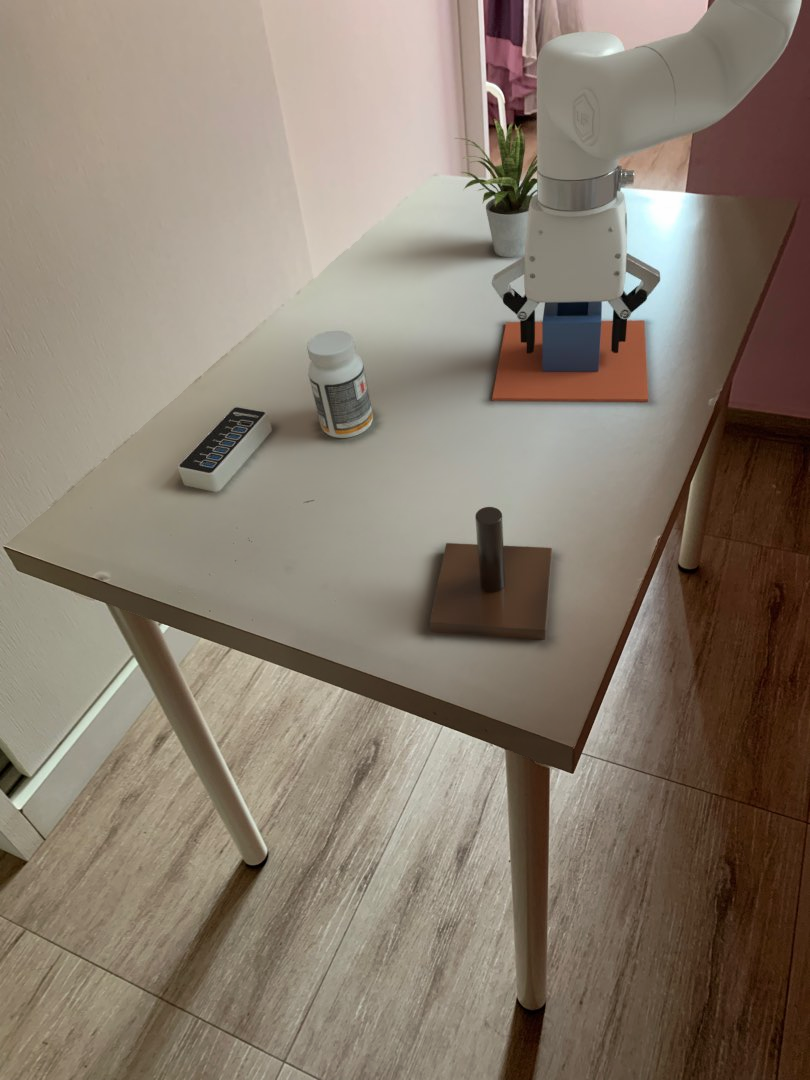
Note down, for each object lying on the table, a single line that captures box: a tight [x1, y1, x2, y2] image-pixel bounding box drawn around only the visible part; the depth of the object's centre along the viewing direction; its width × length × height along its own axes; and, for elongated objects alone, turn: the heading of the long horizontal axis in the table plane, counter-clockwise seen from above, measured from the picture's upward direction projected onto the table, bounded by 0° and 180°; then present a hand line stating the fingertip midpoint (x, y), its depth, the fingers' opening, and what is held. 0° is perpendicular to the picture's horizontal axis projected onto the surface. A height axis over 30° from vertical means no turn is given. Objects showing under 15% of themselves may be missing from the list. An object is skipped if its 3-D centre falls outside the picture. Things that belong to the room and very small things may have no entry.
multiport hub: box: [177, 406, 273, 493], centre depth 84 cm, size 4×11×2 cm, turn 156°
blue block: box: [541, 302, 603, 372], centre depth 88 cm, size 6×6×6 cm
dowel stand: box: [429, 506, 553, 640], centre depth 63 cm, size 9×9×9 cm
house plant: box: [455, 118, 537, 258], centre depth 107 cm, size 14×14×16 cm
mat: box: [491, 320, 649, 403], centre depth 90 cm, size 16×16×1 cm
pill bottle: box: [306, 330, 374, 439], centre depth 83 cm, size 6×6×10 cm
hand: (572, 346), depth 89 cm, fingers open, 8 cm apart
